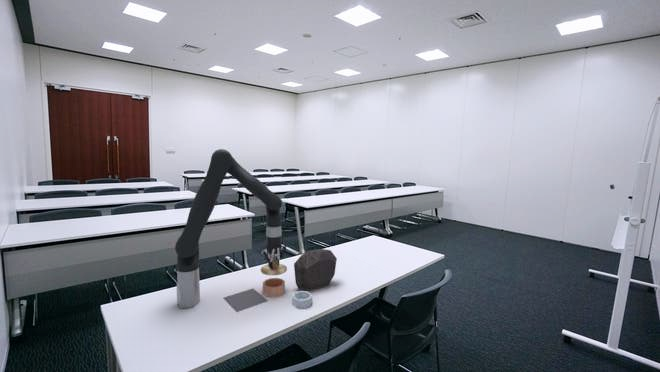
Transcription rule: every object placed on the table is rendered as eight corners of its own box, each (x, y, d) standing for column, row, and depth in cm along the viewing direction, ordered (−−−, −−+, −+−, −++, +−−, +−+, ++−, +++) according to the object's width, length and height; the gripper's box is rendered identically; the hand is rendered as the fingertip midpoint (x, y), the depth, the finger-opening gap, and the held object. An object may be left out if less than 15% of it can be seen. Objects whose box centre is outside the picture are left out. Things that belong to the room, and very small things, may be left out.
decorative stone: (299, 295, 156) (300, 257, 153) (291, 288, 163) (292, 251, 160) (339, 284, 169) (340, 249, 166) (330, 278, 176) (331, 244, 173)
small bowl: (299, 310, 142) (299, 302, 141) (289, 302, 149) (289, 294, 148) (315, 304, 148) (315, 296, 147) (304, 296, 155) (304, 289, 154)
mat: (236, 312, 139) (236, 312, 139) (222, 298, 151) (222, 297, 151) (268, 301, 149) (268, 301, 149) (253, 289, 161) (253, 288, 161)
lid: (268, 277, 148) (268, 267, 147) (256, 268, 158) (256, 258, 157) (291, 271, 156) (291, 261, 155) (278, 262, 166) (278, 253, 165)
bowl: (269, 299, 151) (269, 289, 150) (259, 290, 159) (259, 281, 159) (288, 292, 158) (288, 283, 157) (277, 284, 166) (277, 276, 166)
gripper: (264, 238, 147) (265, 273, 149) (289, 233, 156) (289, 266, 158) (257, 235, 153) (257, 268, 155) (282, 230, 162) (281, 261, 164)
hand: (273, 267), depth 157 cm, fingers closed on lid, 2 cm apart
